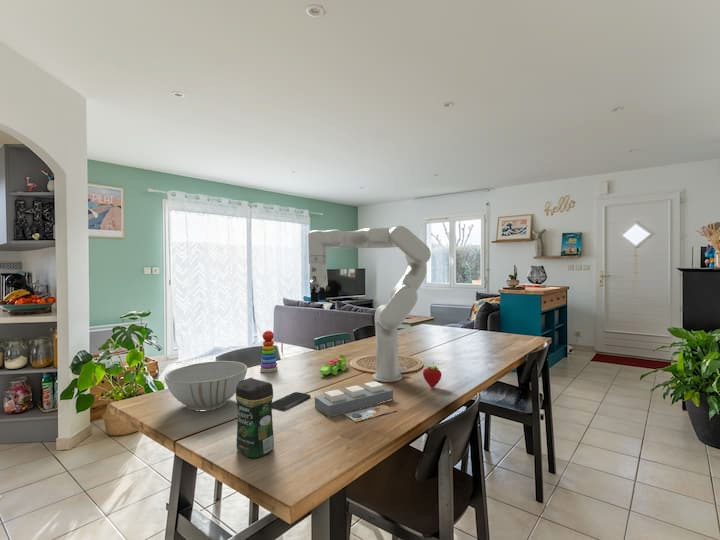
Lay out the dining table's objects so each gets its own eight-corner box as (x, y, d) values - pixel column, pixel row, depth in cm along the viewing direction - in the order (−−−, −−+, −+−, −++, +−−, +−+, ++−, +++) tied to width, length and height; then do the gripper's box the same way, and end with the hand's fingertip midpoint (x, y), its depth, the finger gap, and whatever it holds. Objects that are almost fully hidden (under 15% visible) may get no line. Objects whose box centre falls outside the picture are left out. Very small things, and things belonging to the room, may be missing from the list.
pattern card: (384, 404, 128) (384, 403, 128) (397, 411, 122) (397, 409, 122) (344, 415, 119) (344, 413, 119) (356, 422, 113) (356, 421, 113)
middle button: (357, 394, 132) (356, 385, 132) (364, 398, 128) (364, 388, 128) (345, 397, 130) (344, 387, 130) (352, 402, 125) (352, 391, 125)
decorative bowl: (210, 425, 113) (210, 386, 113) (146, 414, 122) (145, 378, 122) (262, 396, 138) (262, 363, 138) (206, 388, 147) (205, 358, 147)
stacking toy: (281, 369, 173) (280, 330, 173) (268, 374, 166) (268, 332, 166) (269, 367, 177) (268, 328, 177) (256, 371, 170) (255, 331, 170)
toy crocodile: (327, 378, 159) (327, 364, 158) (315, 376, 162) (315, 363, 162) (351, 367, 176) (351, 354, 176) (339, 366, 179) (339, 353, 179)
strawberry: (426, 383, 149) (426, 359, 149) (444, 387, 145) (444, 362, 145) (420, 387, 145) (419, 362, 144) (438, 391, 140) (437, 365, 140)
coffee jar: (231, 451, 97) (230, 380, 96) (256, 439, 103) (255, 373, 103) (254, 462, 91) (253, 387, 91) (279, 449, 97) (278, 379, 97)
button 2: (375, 390, 137) (375, 381, 137) (383, 394, 132) (383, 384, 132) (364, 393, 134) (363, 383, 134) (371, 397, 130) (371, 387, 130)
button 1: (337, 399, 128) (337, 389, 128) (344, 403, 124) (344, 393, 124) (324, 402, 125) (324, 392, 125) (331, 407, 121) (331, 396, 121)
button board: (376, 392, 140) (376, 383, 140) (393, 400, 132) (393, 390, 132) (314, 407, 126) (314, 396, 126) (328, 417, 118) (328, 405, 118)
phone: (311, 395, 136) (284, 408, 123) (311, 398, 136) (284, 412, 123) (295, 391, 140) (266, 404, 127) (295, 394, 140) (266, 407, 127)
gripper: (319, 259, 145) (320, 303, 145) (332, 260, 162) (333, 299, 162) (301, 260, 146) (302, 303, 147) (316, 260, 163) (317, 299, 163)
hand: (318, 301), depth 154 cm, fingers open, 9 cm apart
